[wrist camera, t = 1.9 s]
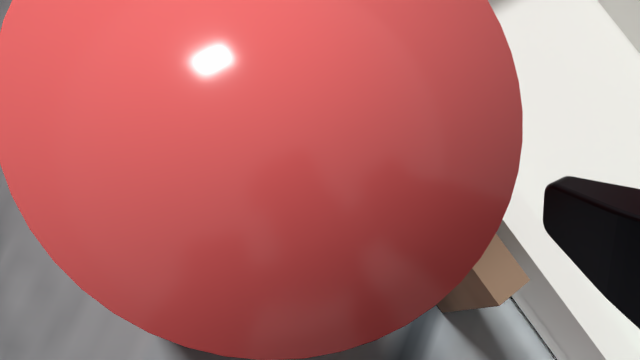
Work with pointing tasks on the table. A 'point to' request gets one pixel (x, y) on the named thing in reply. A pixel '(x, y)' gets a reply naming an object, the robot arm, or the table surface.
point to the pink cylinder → (261, 160)
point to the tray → (571, 156)
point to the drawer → (487, 281)
